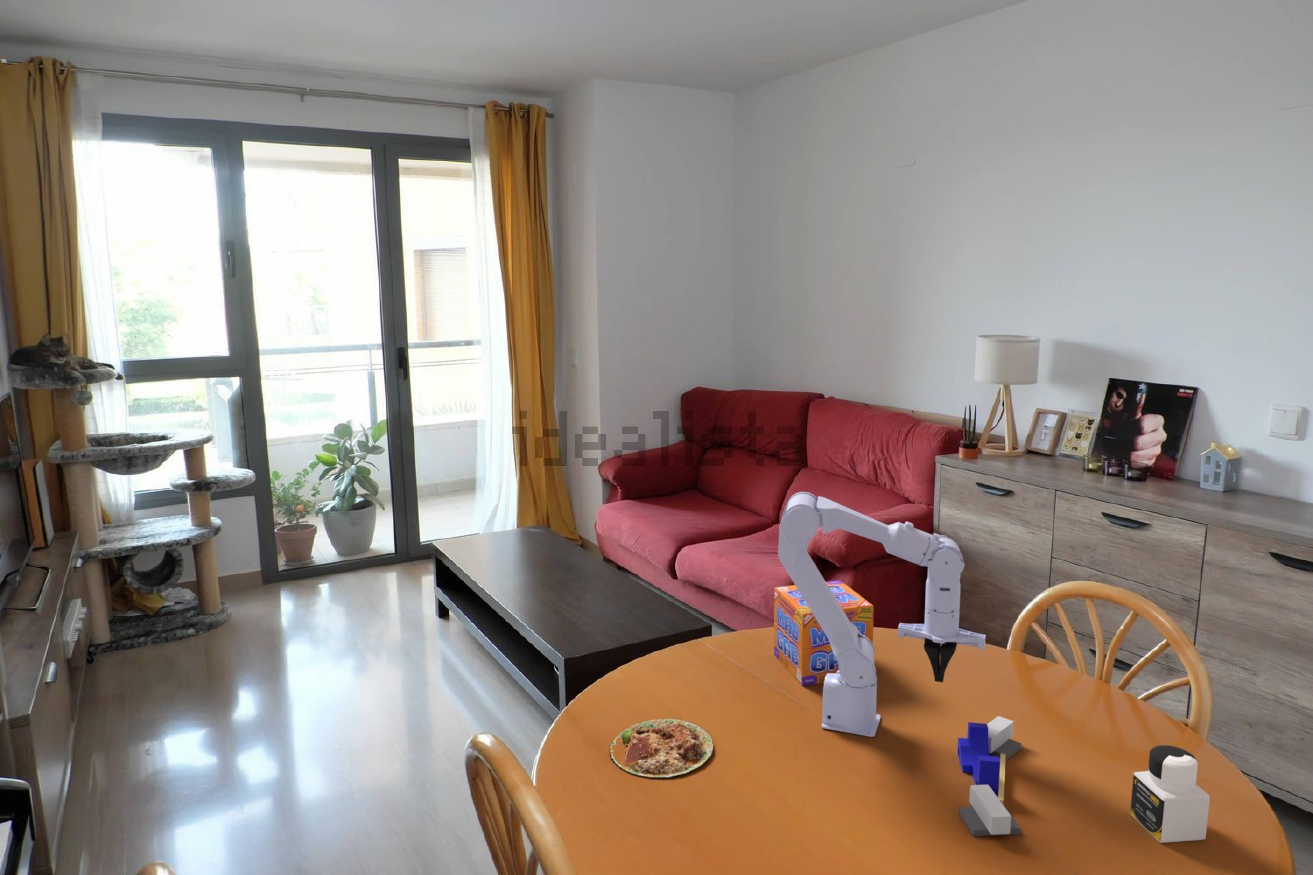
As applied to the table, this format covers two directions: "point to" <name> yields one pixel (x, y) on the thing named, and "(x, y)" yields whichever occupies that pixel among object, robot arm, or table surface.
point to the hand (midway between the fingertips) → (939, 679)
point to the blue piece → (979, 757)
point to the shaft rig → (986, 806)
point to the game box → (813, 631)
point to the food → (664, 747)
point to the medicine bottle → (1170, 797)
